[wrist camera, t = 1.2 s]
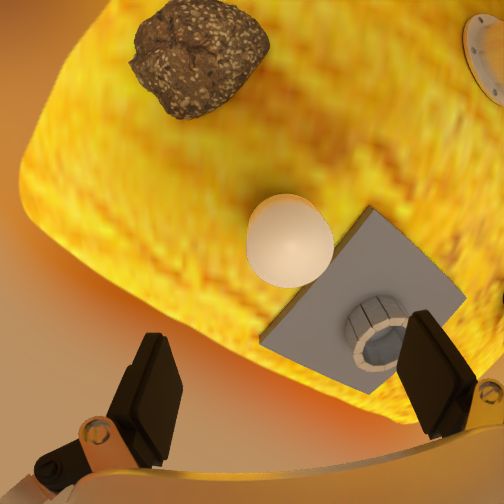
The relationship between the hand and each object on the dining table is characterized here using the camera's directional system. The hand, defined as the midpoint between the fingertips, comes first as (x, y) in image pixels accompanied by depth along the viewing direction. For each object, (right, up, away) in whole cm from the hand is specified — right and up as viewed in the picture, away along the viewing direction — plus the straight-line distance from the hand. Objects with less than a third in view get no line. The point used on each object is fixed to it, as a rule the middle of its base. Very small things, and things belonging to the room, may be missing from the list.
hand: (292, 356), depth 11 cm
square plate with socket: (+13, -4, +24) cm, 28 cm away
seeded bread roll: (-7, +23, +13) cm, 28 cm away
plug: (+1, +7, +20) cm, 21 cm away
